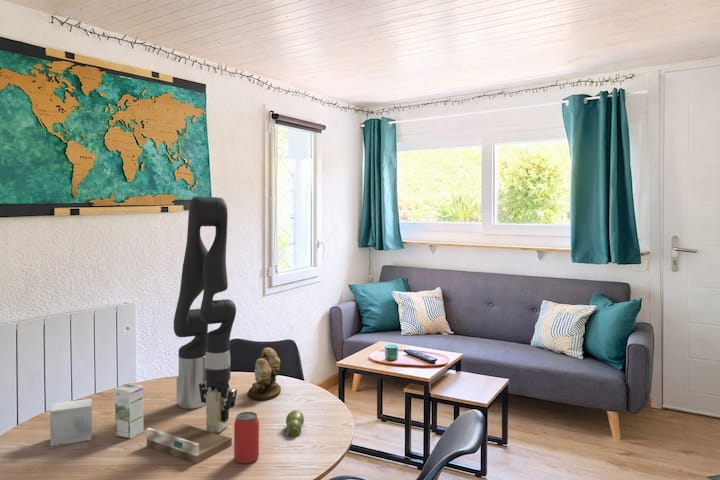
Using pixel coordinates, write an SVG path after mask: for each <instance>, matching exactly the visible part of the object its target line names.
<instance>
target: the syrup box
mask: <svg viewBox="0 0 720 480" xmlns="http://www.w3.org/2000/svg"><path fill="white" fill-rule="evenodd" d="M114 408H115V409H114V412H115V414H114V416H115V417H114V420H115V422H114V423H115V436H116V437H120V438H123V439H124V438H125V439H133V438H135V437H137V436H139V435H141V434H142V433H144V430H145V429H144V386H143V385H141V384H134V383H125V384H122V385H121V386H118V387H116V388H115V389H114Z"/></svg>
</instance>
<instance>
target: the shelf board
mask: <svg viewBox="0 0 720 480" xmlns="http://www.w3.org/2000/svg"><path fill="white" fill-rule="evenodd" d="M231 446H232V437H228V436H226V435H223V434H222V435H221V434H219V433H217V432H209V431H206V429H202V428H198V427H195V426H193V425H189V424H186V423H181V424H178V425H176V426H174V427H172V428H169V429H166V430H164V431H160V430H158V429H154V428H152V427H147V428H146V447H148V448H152V449H154V450H156V451H157V450H158V451H161V452H163V453H165V454H169V455H171V456H175V457H177V458H180V459H183V460H186V461H189V462H192V463H195V464H199V463H200V462H203V461H204V460H206V459H208V458H210V457H211V456H213V455H216V454H217V453H219V452H221V451H223V450H225V449H227V448H229V447H231Z"/></svg>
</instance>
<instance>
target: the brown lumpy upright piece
mask: <svg viewBox="0 0 720 480" xmlns="http://www.w3.org/2000/svg"><path fill="white" fill-rule="evenodd" d="M280 367H281V359H280V357H279V356H278V354H277V352H276V350H275V349H273V348H272V347H263V350H262V351H261V353H260V358H258V359H257V358H256V362H255V364H254V377H255V378H254V379H255V382H254V383H252V384H251V387H250V388H249V389H248V391H247V396H248V398H249V399H252V400H254V401H262V402H263V401H270V400H273V399H275V398H277V397H278V396H279V395H281V391H282V390H281V389H282V387H281V385H279V383H277V378H276V377H277V376H278V375H279V371H280V369H281V368H280Z"/></svg>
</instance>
